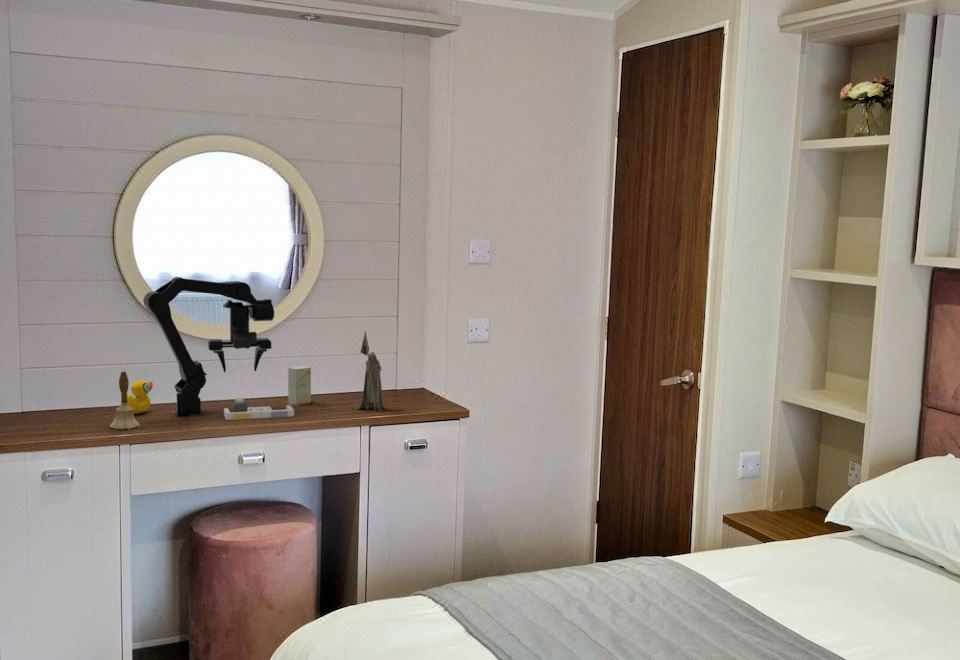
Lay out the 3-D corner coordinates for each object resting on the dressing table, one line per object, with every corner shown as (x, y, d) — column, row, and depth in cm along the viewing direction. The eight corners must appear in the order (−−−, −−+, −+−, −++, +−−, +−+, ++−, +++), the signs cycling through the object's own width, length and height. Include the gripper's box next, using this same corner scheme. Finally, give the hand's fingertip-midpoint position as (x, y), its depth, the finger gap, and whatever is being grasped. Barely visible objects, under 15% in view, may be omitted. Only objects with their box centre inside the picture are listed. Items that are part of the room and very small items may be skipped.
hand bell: (145, 426, 271) (144, 371, 269) (118, 431, 265) (116, 375, 263) (131, 422, 276) (129, 368, 274) (103, 426, 270) (102, 371, 268)
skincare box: (296, 406, 303) (296, 369, 301) (287, 404, 305) (287, 367, 304) (311, 404, 308) (311, 367, 306) (302, 402, 310) (302, 365, 309)
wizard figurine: (358, 413, 295) (358, 333, 292) (350, 407, 303) (350, 330, 300) (389, 410, 300) (390, 332, 297) (380, 405, 307) (381, 329, 304)
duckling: (145, 408, 295) (144, 377, 294) (159, 410, 293) (158, 378, 292) (118, 415, 285) (117, 382, 283) (132, 417, 282) (132, 384, 281)
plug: (233, 419, 282) (233, 400, 281) (232, 417, 286) (232, 397, 285) (247, 419, 284) (247, 399, 283) (245, 416, 287) (245, 397, 287)
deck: (240, 414, 289) (240, 412, 289) (237, 410, 296) (237, 408, 296) (273, 412, 293) (273, 410, 293) (270, 408, 299) (270, 406, 299)
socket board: (227, 424, 276) (227, 415, 276) (223, 416, 286) (223, 408, 286) (295, 420, 283) (295, 412, 283) (290, 413, 293) (290, 405, 293)
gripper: (210, 325, 283) (211, 377, 285) (273, 324, 289) (274, 374, 291) (207, 321, 293) (208, 371, 295) (268, 320, 300) (268, 368, 302)
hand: (240, 371), depth 296 cm, fingers open, 9 cm apart
